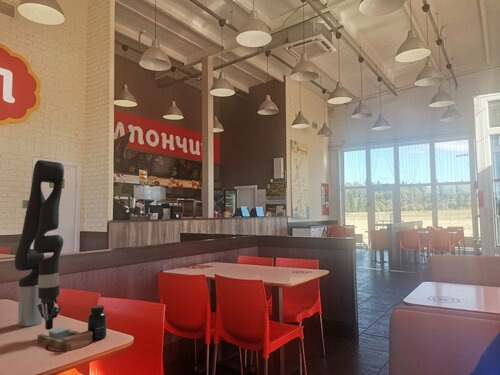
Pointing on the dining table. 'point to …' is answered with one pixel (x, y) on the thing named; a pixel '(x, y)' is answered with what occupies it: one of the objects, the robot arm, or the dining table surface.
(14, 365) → the dining table surface
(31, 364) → the dining table surface
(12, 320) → the dining table surface
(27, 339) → the dining table surface
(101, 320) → the supplement bottle
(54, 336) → the block
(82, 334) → the track
